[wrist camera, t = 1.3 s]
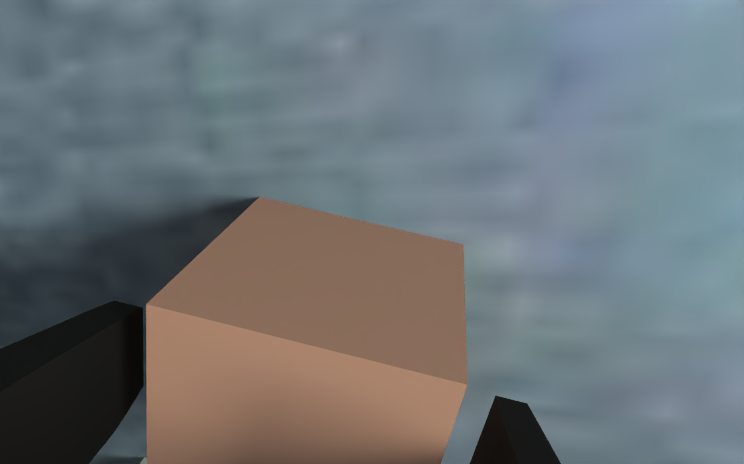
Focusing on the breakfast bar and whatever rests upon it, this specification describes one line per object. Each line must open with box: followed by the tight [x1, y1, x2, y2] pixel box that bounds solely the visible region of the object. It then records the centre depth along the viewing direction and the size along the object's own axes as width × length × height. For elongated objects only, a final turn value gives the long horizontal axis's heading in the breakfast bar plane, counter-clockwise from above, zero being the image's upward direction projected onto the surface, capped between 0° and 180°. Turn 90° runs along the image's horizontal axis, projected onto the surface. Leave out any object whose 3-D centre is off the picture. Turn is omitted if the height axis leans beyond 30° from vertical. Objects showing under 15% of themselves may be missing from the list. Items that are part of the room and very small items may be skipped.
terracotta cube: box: [146, 197, 467, 464], centre depth 11 cm, size 5×5×5 cm
